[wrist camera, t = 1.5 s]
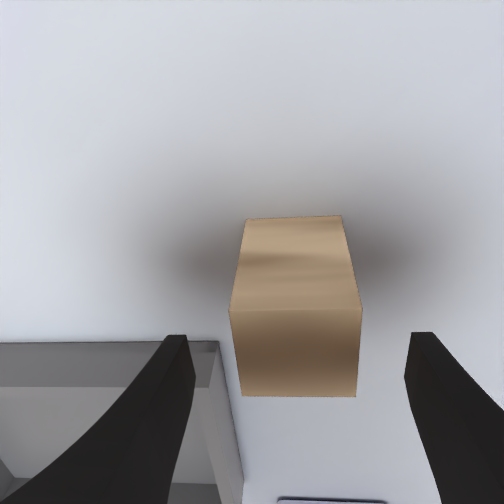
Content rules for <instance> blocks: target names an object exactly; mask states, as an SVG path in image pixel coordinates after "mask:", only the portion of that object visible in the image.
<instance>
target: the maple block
mask: <svg viewBox="0 0 504 504" xmlns="http://www.w3.org/2000/svg"><path fill="white" fill-rule="evenodd" d="M229 316H230V323H231V329H232V336H233V342H234V348H235V355H236V361H237V367H238V374H239V380H240V387H241V393H242V396H278V397H356V389H357V375H358V362H359V349H360V335H361V322H362V305H361V300H360V296H359V292H358V288H357V283H356V279H355V275H354V270H353V266H352V262H351V258H350V253H349V249H348V245H347V240H346V236H345V232H344V228H343V223H342V219H341V215H337V216H314V217H291V218H268V219H246V223H245V229H244V234H243V239H242V244H241V249H240V255H239V260H238V265H237V270H236V275H235V281H234V286H233V291H232V296H231V302H230V307H229Z"/></svg>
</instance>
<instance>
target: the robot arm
mask: <svg viewBox="0 0 504 504" xmlns="http://www.w3.org/2000/svg"><path fill="white" fill-rule="evenodd" d="M404 379H405V384H406V389H407V394H408V398H409V403H410V407H411V411H412V414H413V417H414V420H415V423H416V426H417V429H418V432H419V435H420V437H421V440H422V443H423V446H424V449H425V452H426V455H427V458H428V461H429V464H430V467H431V470H432V472H433V475H434V478H435V481H436V485H437V488H438V491H439V495H440V498H441V503H442V504H504V410H503V409H502V408H501V407H499V406H498V405H497V404H496V403H495V402H494V401H493V400H492V398H491V397H490V396H489V395H488V394H487V393H486V392H485V391H484V390H483V389H482V388H481V387H480V386H479V385H478V384H477V383H476V382H475V381H474V379H473V378H472V377H471V376H470V375H469V374H468V373H467V372H466V371H465V370H464V368H463V367H462V366H461V365H460V364H459V363H458V362H457V360H456V359H455V358H454V357H453V356H452V355H451V353H450V352H449V351H448V350H447V349H446V347H445V346H444V345H443V344H442V343H441V341H440V340H439V339H438V338H437V337H436V335H435V334H434V333H433V332H411V338H410V344H409V350H408V356H407V362H406V368H405V374H404ZM195 382H196V373H195V369H194V365H193V361H192V357H191V353H190V349H189V345H188V341H187V336H186V335H168V336H167V337H166V338H165V339H164V341H163V342H162V343H161V345H160V346H159V347H158V349H157V350H156V351H155V353H154V354H153V355H152V357H151V358H150V359H149V361H148V362H147V363H146V365H145V366H144V367H143V368H142V370H141V371H140V372H139V373H138V375H137V376H136V377H135V378H134V380H133V381H132V382H131V383H130V385H129V386H128V387H127V388H126V389H125V391H124V392H123V393H122V394H121V395H120V396H119V397H118V399H117V400H116V401H115V402H114V403H113V404H112V405H111V407H110V408H109V409H108V410H107V411H106V412H105V413H104V414H103V415H102V416H101V417H100V418H99V419H98V420H97V421H96V422H95V423H94V424H93V425H92V426H91V427H90V428H89V429H88V430H87V431H86V432H85V433H84V434H83V435H82V436H81V437H80V438H79V439H78V440H77V441H76V442H75V443H74V444H72V445H71V446H70V447H69V448H68V449H67V450H66V451H65V452H64V453H62V454H61V455H60V456H59V457H58V458H57V459H55V460H54V461H53V462H52V463H51V464H50V465H48V466H47V467H46V468H44V469H43V470H42V471H41V472H39V473H38V474H37V475H36V476H34V477H33V478H32V479H31V480H29V481H28V482H27V483H25V484H24V485H23V486H21V487H20V488H19V489H17V490H16V491H15V492H13V493H12V494H11V495H9V496H8V497H6V498H5V499H3V500H2V501H0V504H167V502H168V497H169V491H170V486H171V482H172V478H173V473H174V470H175V466H176V462H177V459H178V455H179V451H180V448H181V444H182V441H183V437H184V433H185V430H186V426H187V422H188V419H189V415H190V411H191V407H192V402H193V396H194V389H195ZM277 504H382V503H356V502H328V501H300V500H280V501H278V502H277Z"/></svg>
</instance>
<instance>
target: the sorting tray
mask: <svg viewBox="0 0 504 504" xmlns="http://www.w3.org/2000/svg"><path fill="white" fill-rule="evenodd" d="M161 343H162V342H94V343H0V501H2V500H3V499H5V498H6V497H8V496H9V495H11V494H12V493H13V492H15V491H16V490H17V489H19V488H20V487H21V486H23V485H24V484H25V483H27V482H28V481H29V480H31V479H32V478H33V477H34V476H36V475H37V474H38V473H39V472H41V471H42V470H43V469H44V468H46V467H47V466H48V465H50V464H51V463H52V462H53V461H54V460H55V459H57V458H58V457H59V456H60V455H61V454H62V453H64V452H65V451H66V450H67V449H68V448H69V447H70V446H71V445H72V444H74V443H75V442H76V441H77V440H78V439H79V438H80V437H81V436H82V435H83V434H84V433H85V432H86V431H87V430H88V429H89V428H90V427H91V426H92V425H93V424H94V423H95V422H96V421H97V420H98V419H99V418H100V417H101V416H102V415H103V414H104V413H105V412H106V411H107V410H108V409H109V408H110V407H111V405H112V404H113V403H114V402H115V401H116V400H117V399H118V397H119V396H120V395H121V394H122V393H123V392H124V391H125V389H126V388H127V387H128V386H129V385H130V383H131V382H132V381H133V380H134V378H135V377H136V376H137V375H138V373H139V372H140V371H141V370H142V368H143V367H144V366H145V365H146V363H147V362H148V361H149V359H150V358H151V357H152V355H153V354H154V353H155V351H156V350H157V349H158V347H159V346H160V345H161ZM188 345H189V349H190V353H191V357H192V361H193V365H194V369H195V373H196V382H195V389H194V396H193V402H192V407H191V411H190V415H189V419H188V422H187V426H186V430H185V433H184V437H183V441H182V444H181V448H180V451H179V455H178V459H177V462H176V466H175V470H174V473H173V478H172V482H171V486H170V491H169V497H168V502H167V504H242V495H243V484H244V477H243V472H242V466H241V461H240V456H239V450H238V445H237V439H236V434H235V429H234V423H233V418H232V413H231V407H230V402H229V396H228V391H227V386H226V380H225V375H224V369H223V364H222V359H221V353H220V348H219V342H218V341H207V342H188Z"/></svg>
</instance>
